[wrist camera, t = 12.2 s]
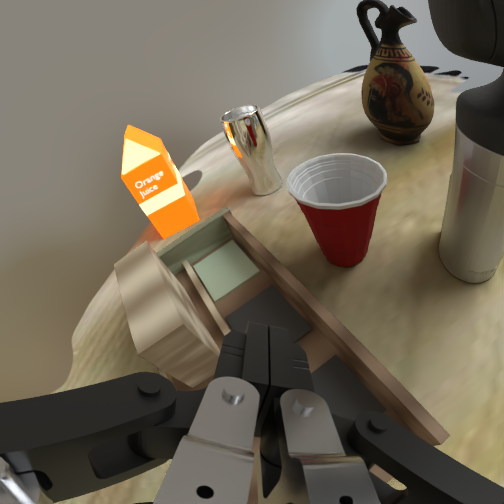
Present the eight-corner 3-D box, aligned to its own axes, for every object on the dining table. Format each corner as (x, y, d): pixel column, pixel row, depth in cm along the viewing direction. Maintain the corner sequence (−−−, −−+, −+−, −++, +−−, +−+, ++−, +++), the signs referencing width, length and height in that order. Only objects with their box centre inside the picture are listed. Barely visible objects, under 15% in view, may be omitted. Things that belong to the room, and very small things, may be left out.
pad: (194, 267, 41) (193, 266, 41) (233, 241, 42) (232, 239, 42) (215, 302, 36) (214, 301, 36) (260, 271, 37) (259, 270, 37)
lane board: (137, 300, 42) (118, 280, 38) (238, 231, 45) (226, 206, 41) (264, 549, 14) (246, 564, 11) (435, 437, 17) (452, 432, 14)
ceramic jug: (444, 133, 46) (432, 0, 25) (414, 160, 43) (395, -4, 22) (384, 113, 58) (362, -1, 37) (347, 135, 55) (314, 3, 34)
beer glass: (292, 178, 50) (269, 103, 39) (268, 201, 47) (238, 122, 37) (264, 171, 54) (239, 103, 44) (241, 192, 52) (209, 122, 41)
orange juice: (163, 239, 50) (102, 150, 36) (160, 214, 56) (110, 135, 43) (200, 220, 50) (146, 124, 36) (193, 197, 57) (147, 113, 43)
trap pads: (225, 318, 34) (224, 317, 33) (272, 285, 35) (272, 284, 35) (325, 457, 20) (325, 457, 19) (386, 410, 21) (386, 409, 21)
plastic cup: (394, 228, 35) (395, 152, 27) (372, 293, 30) (374, 215, 22) (324, 214, 41) (308, 144, 33) (292, 270, 36) (266, 197, 28)
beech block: (156, 307, 38) (114, 264, 31) (184, 288, 39) (146, 240, 32) (192, 387, 29) (137, 354, 22) (228, 364, 29) (183, 323, 22)
